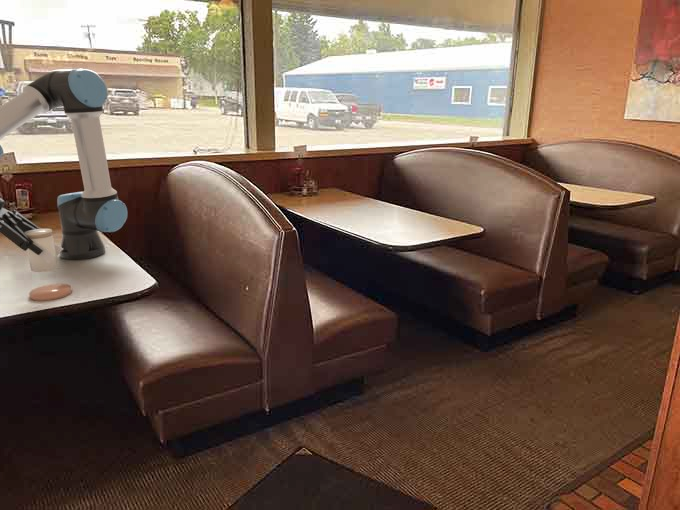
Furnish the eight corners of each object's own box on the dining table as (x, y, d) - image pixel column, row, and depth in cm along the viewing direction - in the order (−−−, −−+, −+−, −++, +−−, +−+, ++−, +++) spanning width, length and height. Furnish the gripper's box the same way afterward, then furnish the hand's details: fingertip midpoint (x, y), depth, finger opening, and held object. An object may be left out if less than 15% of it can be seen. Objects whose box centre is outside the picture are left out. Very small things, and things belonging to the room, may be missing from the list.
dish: (37, 289, 158) (36, 285, 157) (76, 286, 160) (75, 282, 160) (24, 302, 147) (23, 298, 147) (66, 299, 150) (65, 295, 149)
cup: (34, 265, 153) (28, 229, 150) (61, 263, 155) (55, 227, 152) (27, 273, 147) (20, 235, 143) (55, 270, 148) (48, 233, 145)
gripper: (-11, 205, 152) (57, 255, 160) (-43, 220, 133) (36, 276, 141) (6, 187, 152) (74, 238, 160) (-24, 199, 133) (54, 256, 141)
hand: (56, 255), depth 150 cm, fingers closed on cup, 7 cm apart
